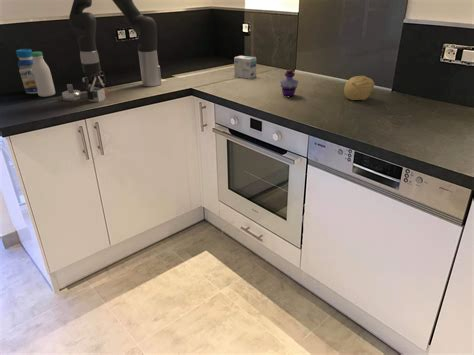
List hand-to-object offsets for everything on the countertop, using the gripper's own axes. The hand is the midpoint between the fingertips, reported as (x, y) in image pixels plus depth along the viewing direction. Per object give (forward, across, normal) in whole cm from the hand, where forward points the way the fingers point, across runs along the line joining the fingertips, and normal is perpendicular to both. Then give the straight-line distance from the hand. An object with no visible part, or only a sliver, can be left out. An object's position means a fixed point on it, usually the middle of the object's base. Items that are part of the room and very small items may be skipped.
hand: (97, 97), depth 176 cm
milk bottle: (+2, -1, -29) cm, 29 cm away
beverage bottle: (+2, -4, -39) cm, 39 cm away
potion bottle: (+2, -31, +84) cm, 90 cm away
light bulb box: (+2, -60, +54) cm, 81 cm away
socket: (+1, 0, 0) cm, 1 cm away
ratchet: (+1, -3, -8) cm, 9 cm away
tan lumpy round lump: (+2, -33, +115) cm, 120 cm away
